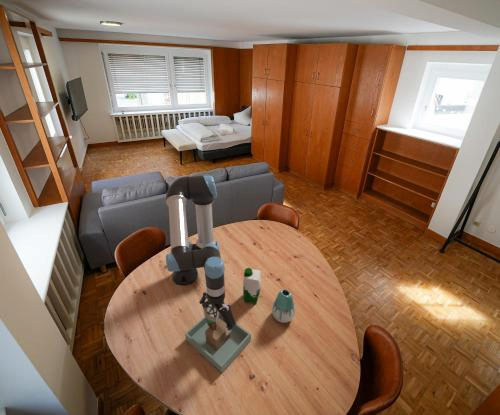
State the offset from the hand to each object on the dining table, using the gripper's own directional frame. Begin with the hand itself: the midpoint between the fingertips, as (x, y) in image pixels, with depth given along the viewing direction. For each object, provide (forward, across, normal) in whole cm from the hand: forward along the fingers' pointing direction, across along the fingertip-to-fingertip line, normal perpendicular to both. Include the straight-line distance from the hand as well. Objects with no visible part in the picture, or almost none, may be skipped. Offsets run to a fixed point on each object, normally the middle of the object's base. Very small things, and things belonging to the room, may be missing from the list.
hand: (217, 324), depth 120 cm
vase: (+12, +16, +31) cm, 37 cm away
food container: (+1, -4, 0) cm, 4 cm away
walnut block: (+11, 0, 0) cm, 11 cm away
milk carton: (+12, -4, +30) cm, 32 cm away
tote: (+12, 0, 0) cm, 12 cm away
